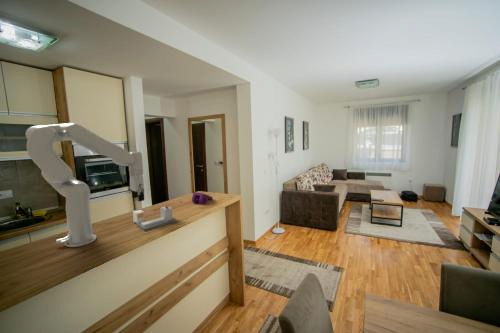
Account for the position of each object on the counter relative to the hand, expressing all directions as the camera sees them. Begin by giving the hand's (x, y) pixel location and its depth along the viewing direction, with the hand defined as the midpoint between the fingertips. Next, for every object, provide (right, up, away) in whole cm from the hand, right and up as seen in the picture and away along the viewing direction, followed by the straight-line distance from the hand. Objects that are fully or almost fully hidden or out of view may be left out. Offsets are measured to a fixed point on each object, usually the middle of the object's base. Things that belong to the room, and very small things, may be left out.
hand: (138, 199), depth 135 cm
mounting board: (+12, -15, 0) cm, 19 cm away
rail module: (0, -15, +2) cm, 15 cm away
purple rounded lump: (+30, -10, +48) cm, 58 cm away
